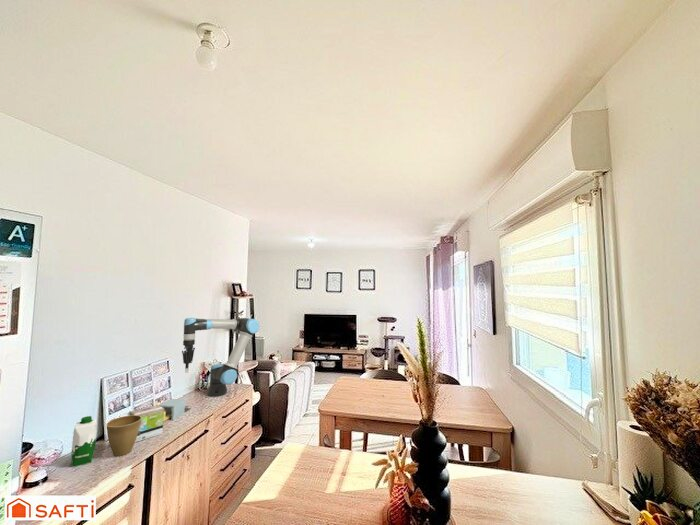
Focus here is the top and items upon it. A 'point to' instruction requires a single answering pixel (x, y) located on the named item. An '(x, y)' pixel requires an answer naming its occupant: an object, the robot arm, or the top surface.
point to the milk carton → (84, 441)
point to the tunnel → (175, 407)
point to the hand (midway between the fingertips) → (187, 372)
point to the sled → (167, 416)
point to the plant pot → (123, 433)
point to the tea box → (149, 421)
